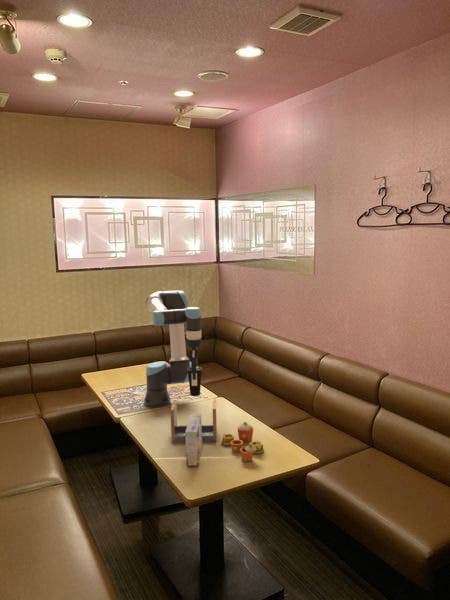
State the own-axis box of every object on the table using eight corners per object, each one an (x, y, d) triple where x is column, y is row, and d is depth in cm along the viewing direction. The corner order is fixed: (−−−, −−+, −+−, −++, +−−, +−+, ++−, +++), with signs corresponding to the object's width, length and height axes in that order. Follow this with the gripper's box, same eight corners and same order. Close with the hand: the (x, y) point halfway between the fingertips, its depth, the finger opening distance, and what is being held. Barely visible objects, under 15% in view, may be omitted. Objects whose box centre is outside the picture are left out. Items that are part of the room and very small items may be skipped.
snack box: (190, 444, 222) (190, 413, 220) (203, 444, 222) (202, 413, 220) (185, 466, 201) (184, 431, 199) (199, 466, 201) (198, 431, 199)
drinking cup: (184, 394, 242) (183, 356, 240) (195, 391, 248) (194, 353, 245) (194, 398, 237) (193, 358, 234) (205, 394, 243) (205, 355, 240)
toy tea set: (217, 441, 226) (217, 421, 224) (247, 435, 232) (246, 416, 231) (242, 464, 202) (241, 442, 201) (274, 457, 208) (274, 436, 207)
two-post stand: (174, 431, 238) (173, 400, 236) (216, 430, 238) (216, 399, 236) (171, 442, 224) (170, 409, 222) (216, 441, 224) (215, 408, 222)
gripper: (187, 334, 248) (188, 377, 251) (184, 342, 229) (186, 389, 232) (202, 334, 248) (203, 377, 251) (200, 342, 229) (201, 389, 232)
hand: (194, 383), depth 242 cm, fingers closed on drinking cup, 6 cm apart
